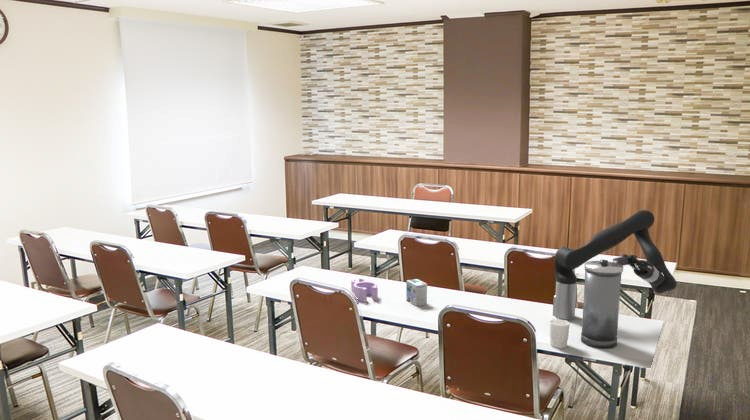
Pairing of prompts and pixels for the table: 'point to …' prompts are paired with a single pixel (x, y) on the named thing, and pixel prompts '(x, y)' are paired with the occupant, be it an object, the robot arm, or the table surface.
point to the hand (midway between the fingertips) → (626, 257)
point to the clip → (364, 289)
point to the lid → (609, 265)
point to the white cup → (559, 333)
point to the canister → (601, 309)
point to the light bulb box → (416, 292)
